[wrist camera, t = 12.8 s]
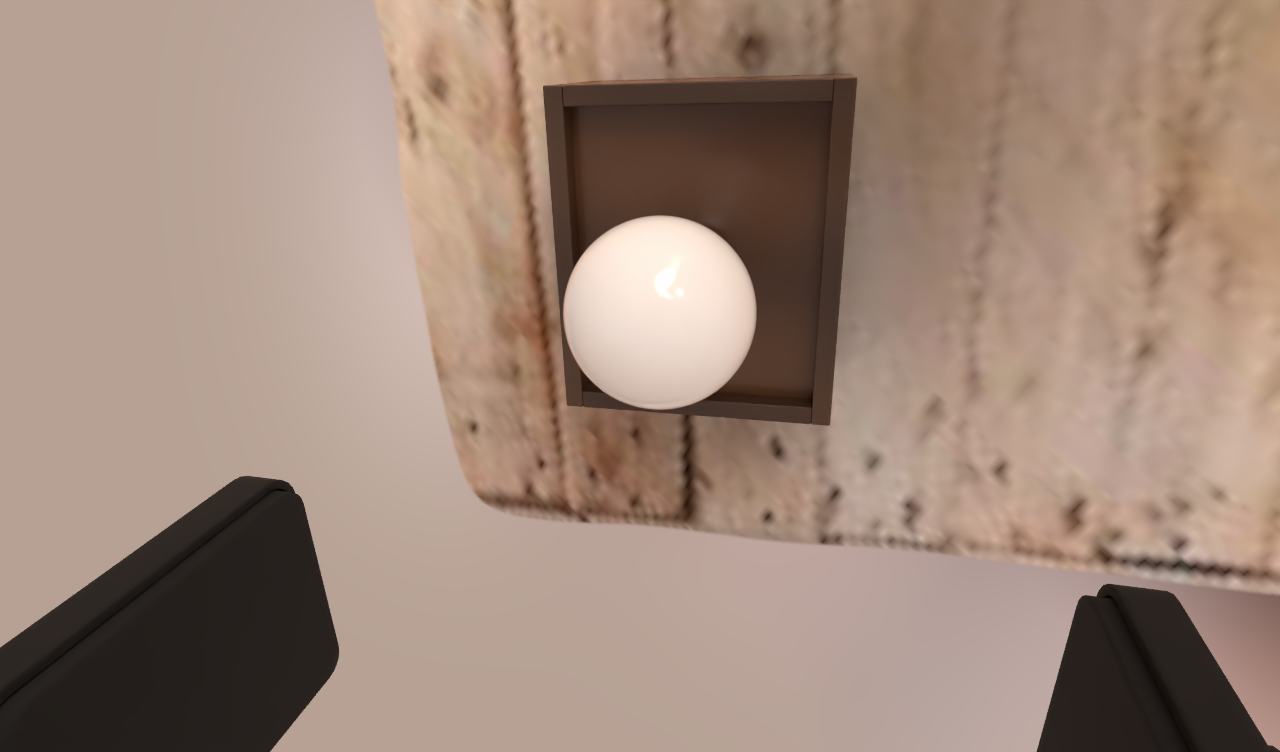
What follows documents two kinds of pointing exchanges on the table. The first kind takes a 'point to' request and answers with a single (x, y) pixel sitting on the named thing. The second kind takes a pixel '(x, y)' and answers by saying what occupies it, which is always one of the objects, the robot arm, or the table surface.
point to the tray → (719, 211)
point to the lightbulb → (659, 312)
